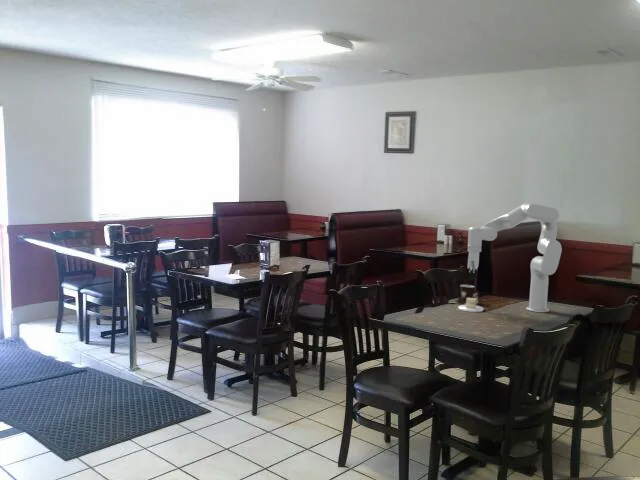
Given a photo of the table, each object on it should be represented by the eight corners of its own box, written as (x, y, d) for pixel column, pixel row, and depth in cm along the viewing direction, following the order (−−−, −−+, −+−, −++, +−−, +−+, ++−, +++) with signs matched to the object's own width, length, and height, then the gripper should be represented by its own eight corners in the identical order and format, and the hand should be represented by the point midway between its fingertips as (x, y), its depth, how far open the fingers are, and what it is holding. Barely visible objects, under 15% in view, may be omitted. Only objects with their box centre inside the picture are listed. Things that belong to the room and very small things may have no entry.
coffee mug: (456, 300, 359) (457, 284, 358) (468, 300, 361) (469, 284, 361) (466, 304, 348) (467, 288, 347) (479, 304, 350) (480, 288, 349)
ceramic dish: (460, 305, 344) (460, 303, 343) (484, 308, 338) (485, 306, 338) (456, 310, 331) (456, 308, 331) (481, 313, 325) (481, 311, 325)
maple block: (467, 306, 338) (467, 297, 337) (475, 307, 336) (476, 298, 335) (465, 307, 333) (466, 299, 332) (474, 308, 331) (475, 300, 331)
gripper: (470, 247, 341) (468, 276, 342) (465, 249, 325) (463, 280, 326) (483, 248, 338) (481, 277, 339) (478, 250, 322) (477, 281, 323)
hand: (472, 278), depth 333 cm, fingers open, 9 cm apart
